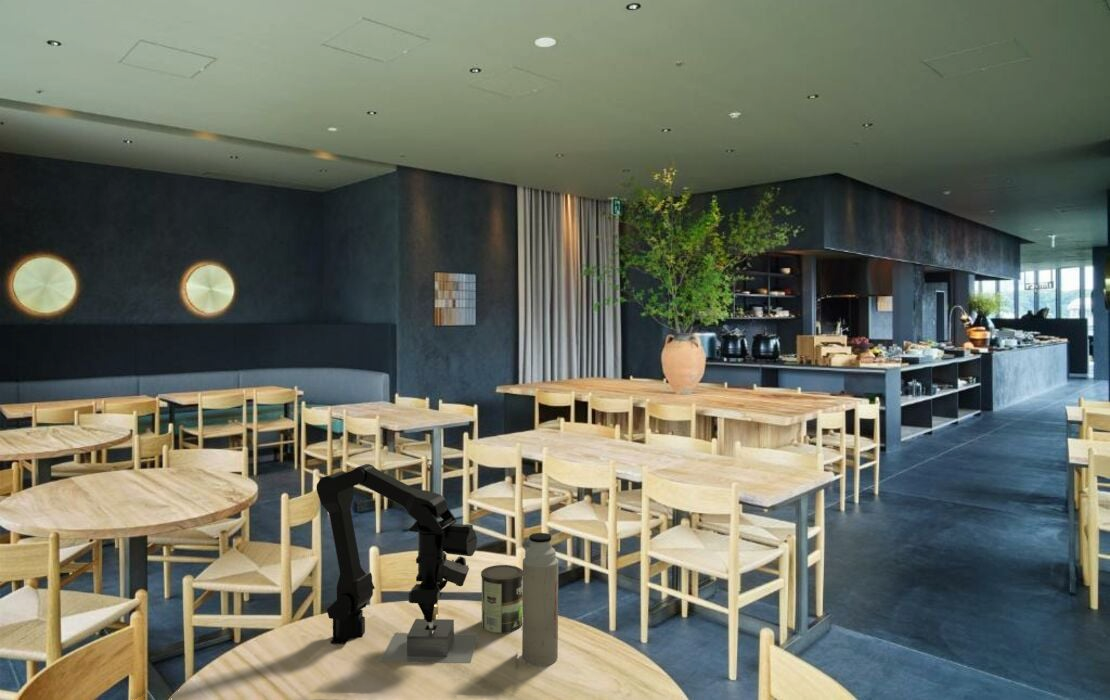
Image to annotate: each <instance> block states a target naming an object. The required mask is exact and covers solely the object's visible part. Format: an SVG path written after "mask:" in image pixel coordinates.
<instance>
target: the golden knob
mask: <svg viewBox="0 0 1110 700" xmlns="http://www.w3.org/2000/svg"><path fill="white" fill-rule="evenodd" d="M423 619H425V617H424V616H423ZM436 619H439V603H435V607H434V613H433V618H432V622H429V630H433V620H436ZM425 620H426V619H425Z"/></svg>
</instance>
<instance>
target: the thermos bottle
mask: <svg viewBox="0 0 1110 700" xmlns="http://www.w3.org/2000/svg"><path fill="white" fill-rule="evenodd" d="M524 556H525V557H524V558H523V559H522V570H523V583H522V584H523V589H522V625H523V628H521V629H522V630H521V632H522V635H521V636H522V637H521V638H522V640H521V641H522V642H521V643H522V644H521V645H522V647H521V649H522V652H521V656H522V660H523V662H524V663H525V664H527V665H530V666H535V667H545V666H550V665H553V664H554V663H555V662H557V661H558V658H559V657H558V651H559V650H558V649H559V647H558V645H559V644H558V643H559V642H558V641H559V639H558V638H559V559H558V558H557V557H556V556H557V553H556V549H555V548H554V547H552V535H551V534H550V533H547V532H535V533H531V534H530V535H529V547H527V548H526V550H525V555H524Z"/></svg>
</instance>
